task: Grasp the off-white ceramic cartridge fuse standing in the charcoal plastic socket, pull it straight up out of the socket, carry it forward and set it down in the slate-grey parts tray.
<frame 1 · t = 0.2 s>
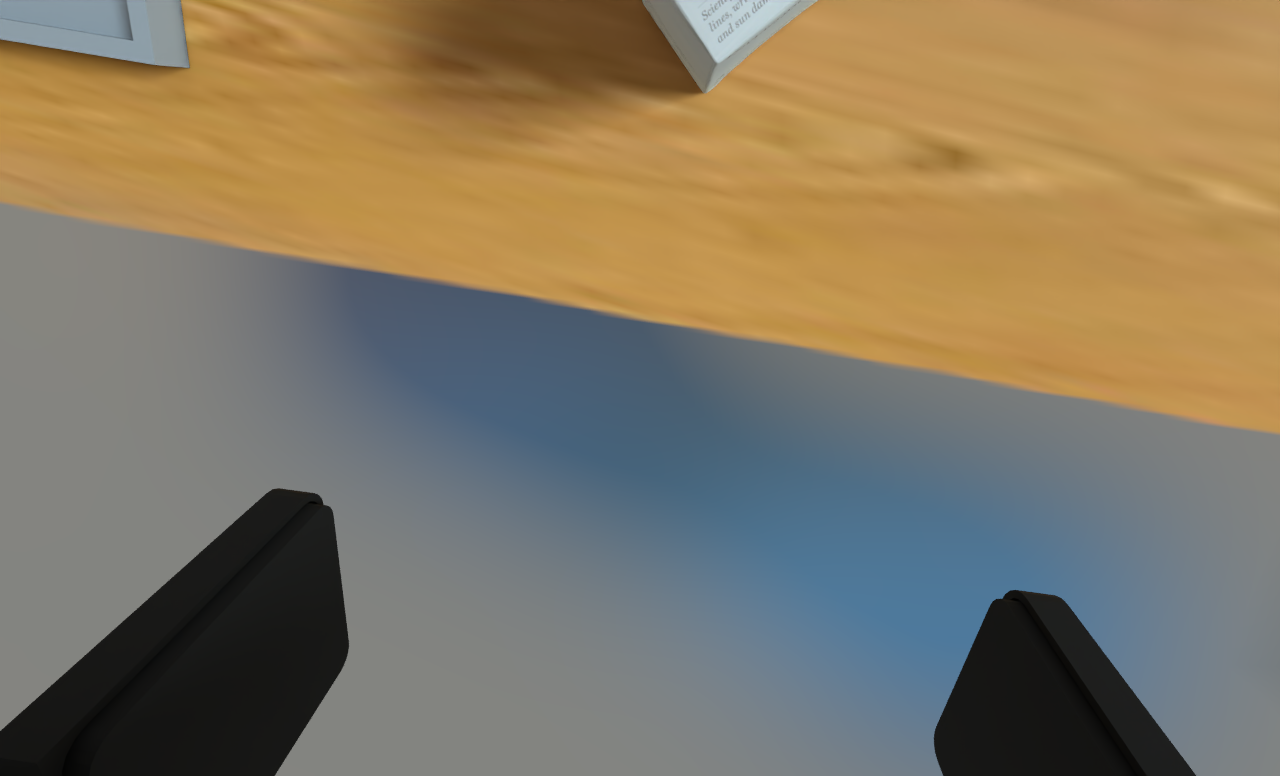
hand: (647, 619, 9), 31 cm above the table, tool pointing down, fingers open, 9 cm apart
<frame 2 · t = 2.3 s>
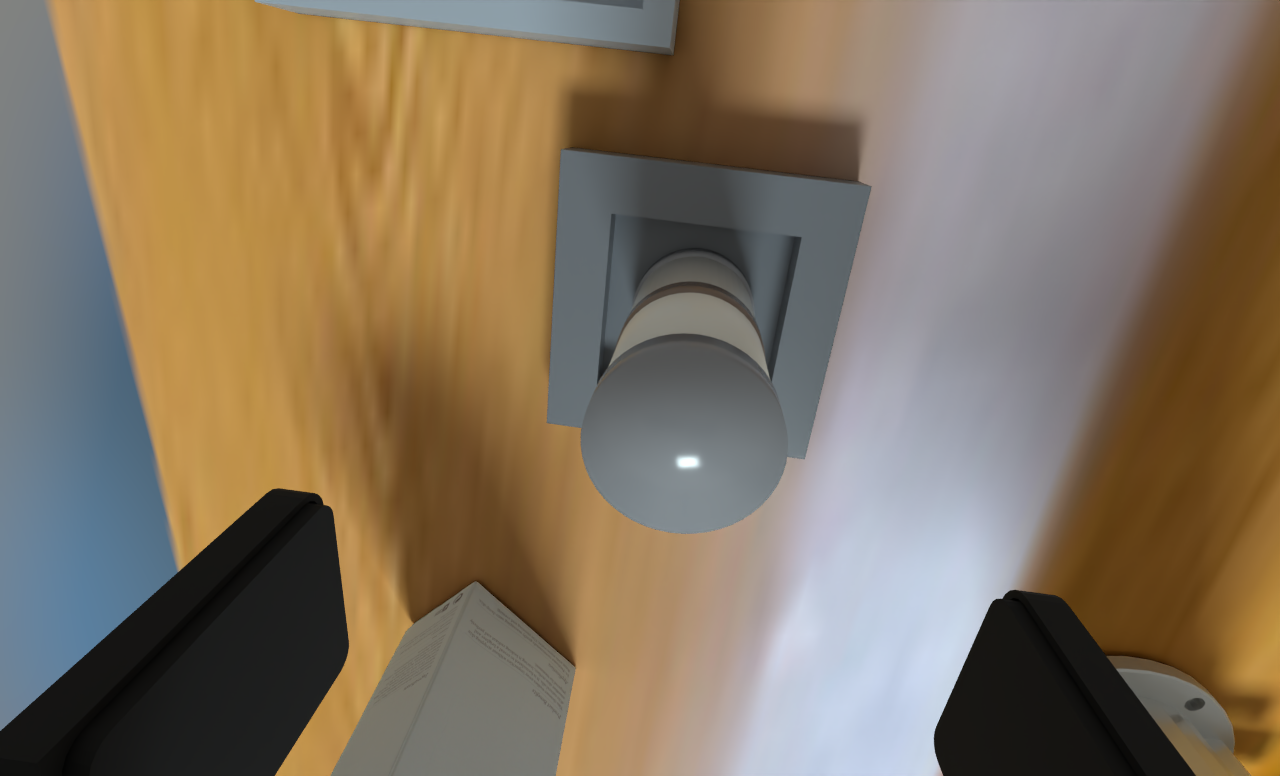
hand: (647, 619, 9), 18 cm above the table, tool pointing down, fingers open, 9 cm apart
fuse: (693, 307, 25), point 1 cm above the table, touching socket
skincare box: (499, 643, 35), on the table
socket: (693, 303, 26), on the table
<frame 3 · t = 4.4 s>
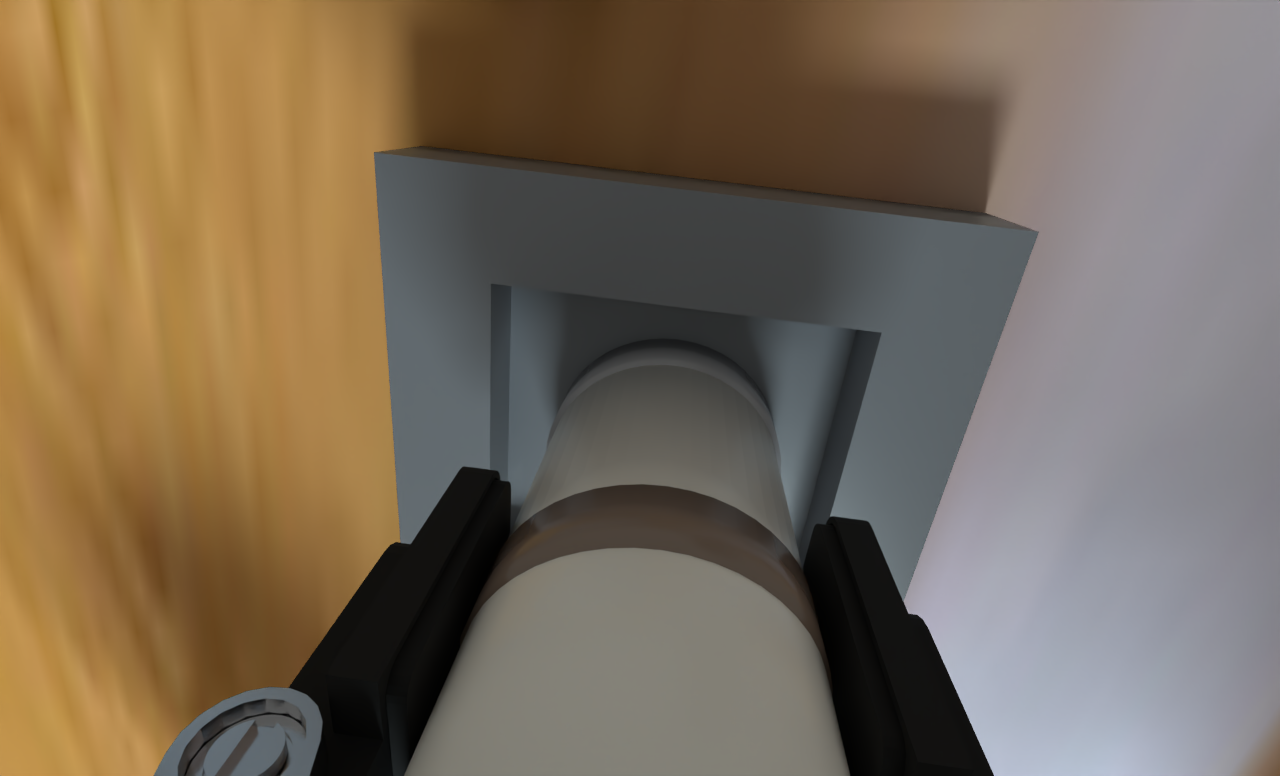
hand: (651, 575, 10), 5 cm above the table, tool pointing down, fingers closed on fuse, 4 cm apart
fuse: (664, 440, 14), point 1 cm above the table, touching gripper, socket
socket: (665, 428, 14), on the table
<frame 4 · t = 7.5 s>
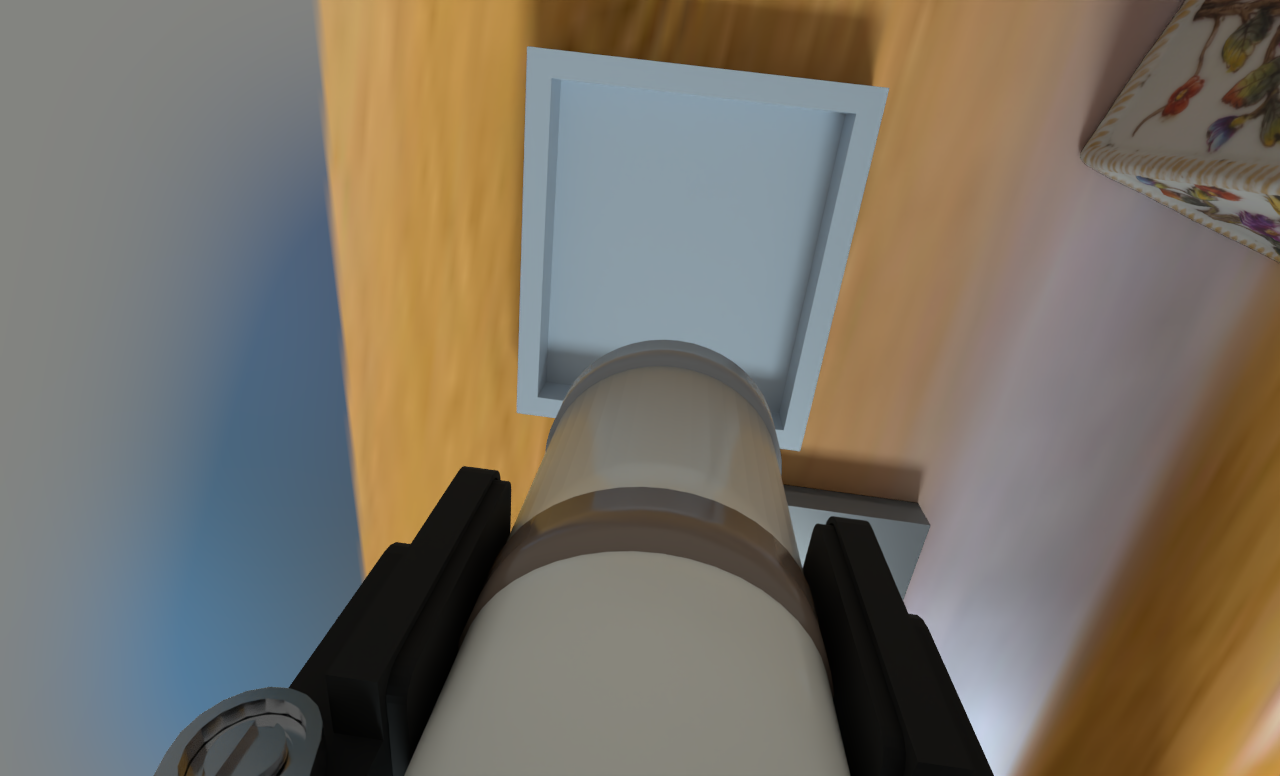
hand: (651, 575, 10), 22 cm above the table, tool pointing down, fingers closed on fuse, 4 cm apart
fuse: (664, 442, 14), point 17 cm above the table, touching gripper
tray: (680, 259, 29), on the table
socket: (795, 568, 36), on the table
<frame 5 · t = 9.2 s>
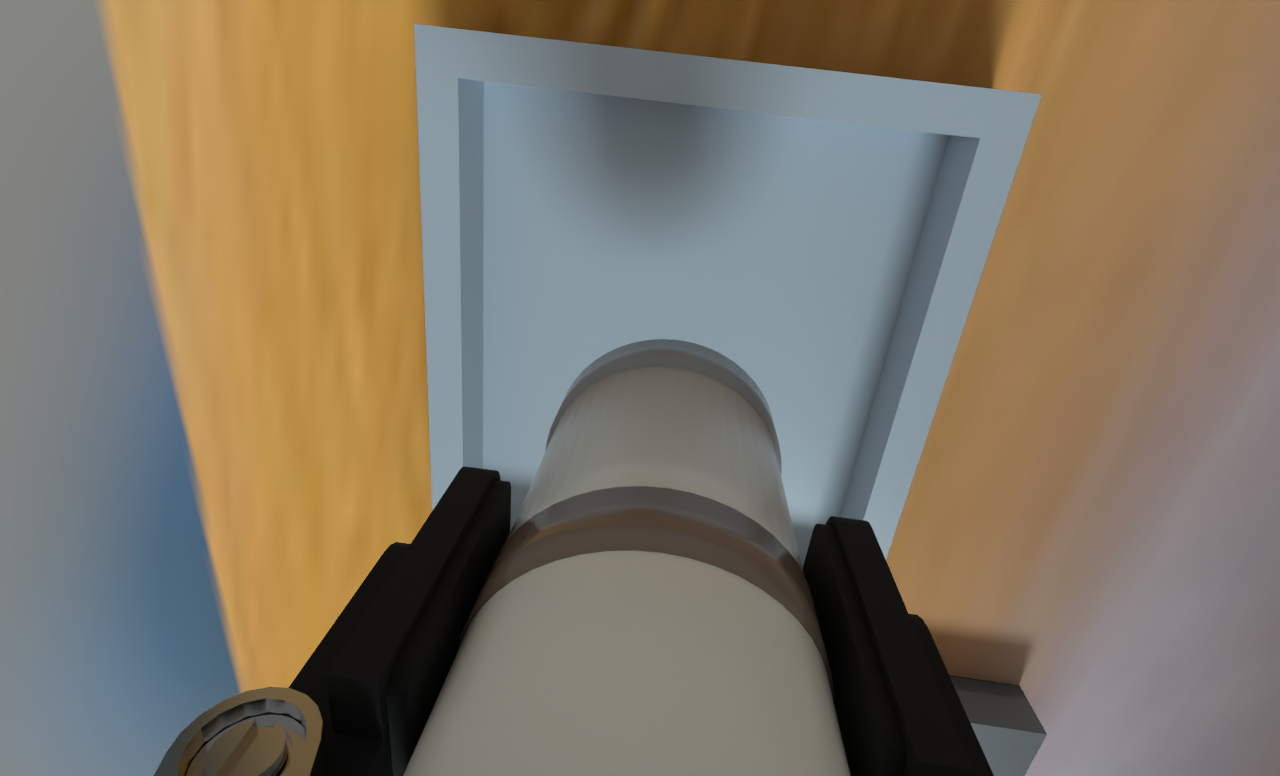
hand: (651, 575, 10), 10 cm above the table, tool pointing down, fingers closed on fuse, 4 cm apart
fuse: (664, 441, 14), point 6 cm above the table, touching gripper
tray: (678, 353, 19), on the table
socket: (839, 760, 26), on the table
when the fingers open (6 cm above the table, at t = 10.7 s): fuse stays where it is, resting on tray.
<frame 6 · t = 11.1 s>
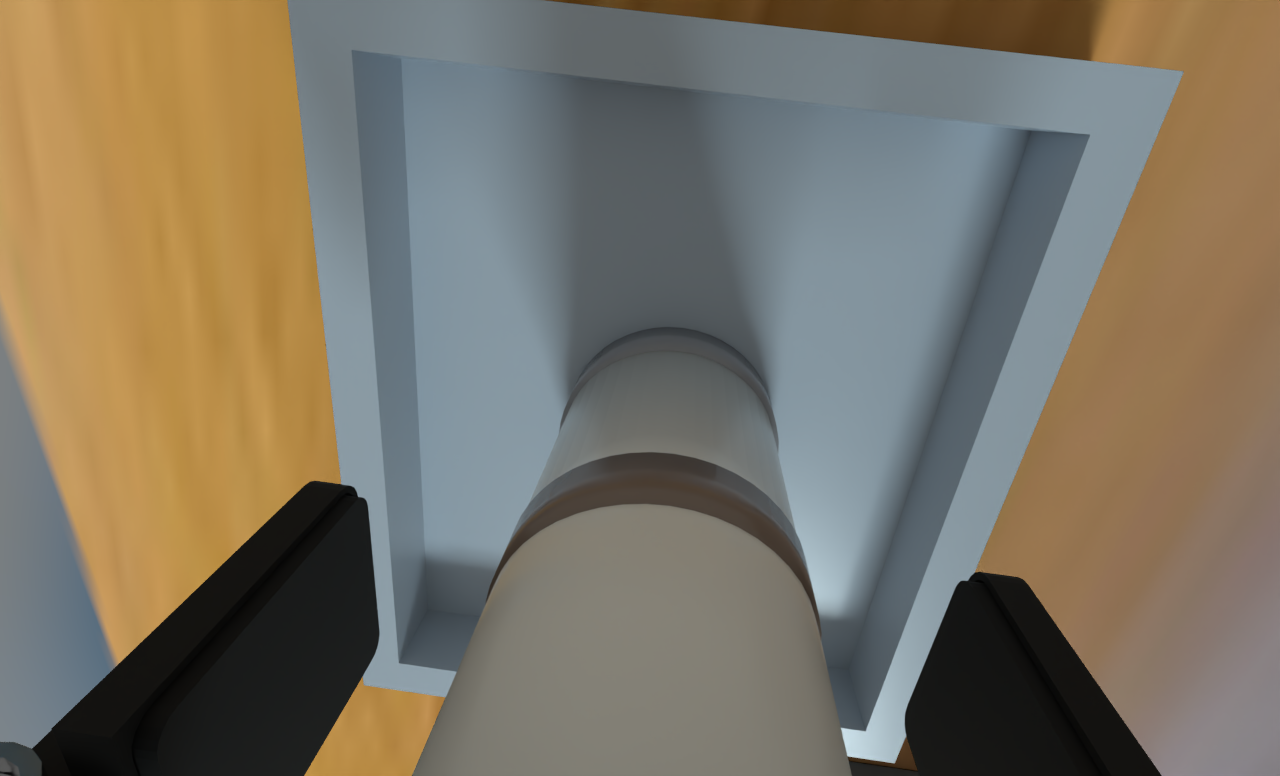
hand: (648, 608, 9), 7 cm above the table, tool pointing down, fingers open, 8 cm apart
fuse: (669, 423, 15), point 1 cm above the table, touching tray
tray: (667, 409, 15), on the table
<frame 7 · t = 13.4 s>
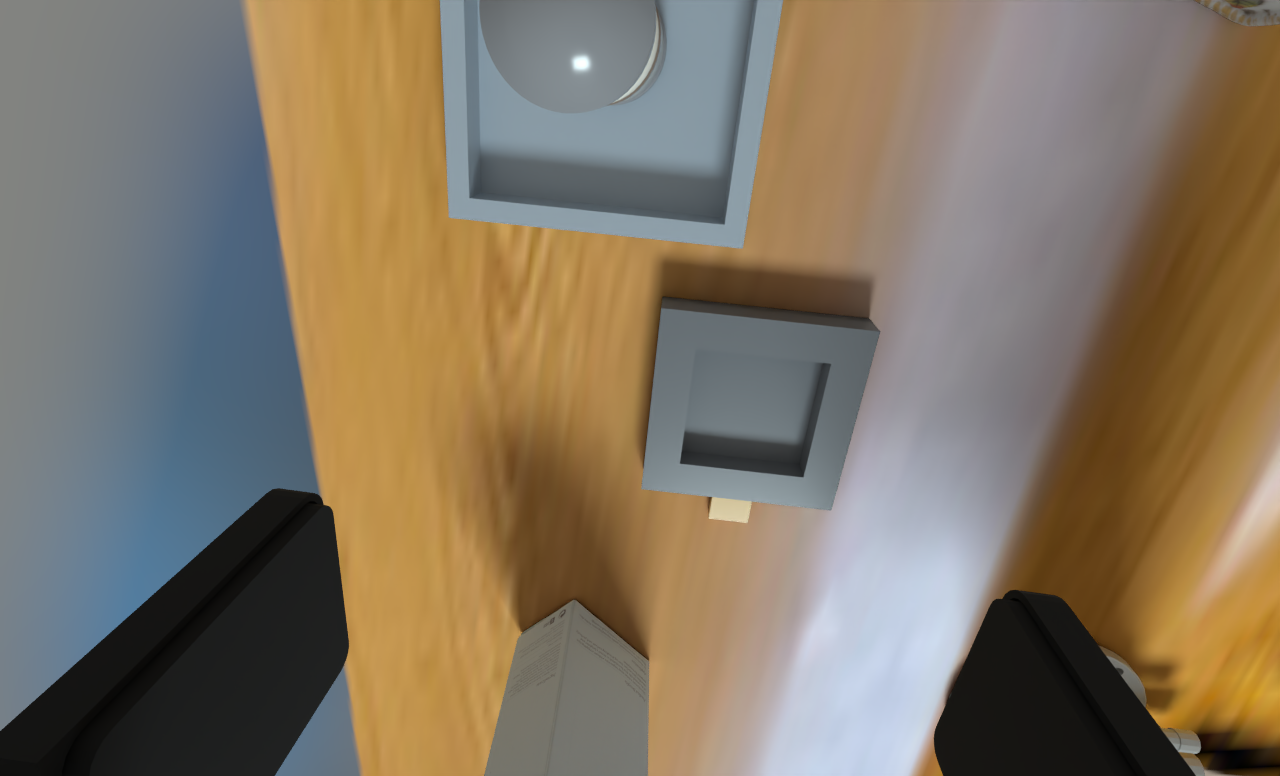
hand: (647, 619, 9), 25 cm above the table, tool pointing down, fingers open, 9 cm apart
fuse: (613, 45, 28), point 1 cm above the table, touching tray
tray: (612, 44, 28), on the table
skincare box: (589, 645, 45), on the table
socket: (748, 399, 35), on the table
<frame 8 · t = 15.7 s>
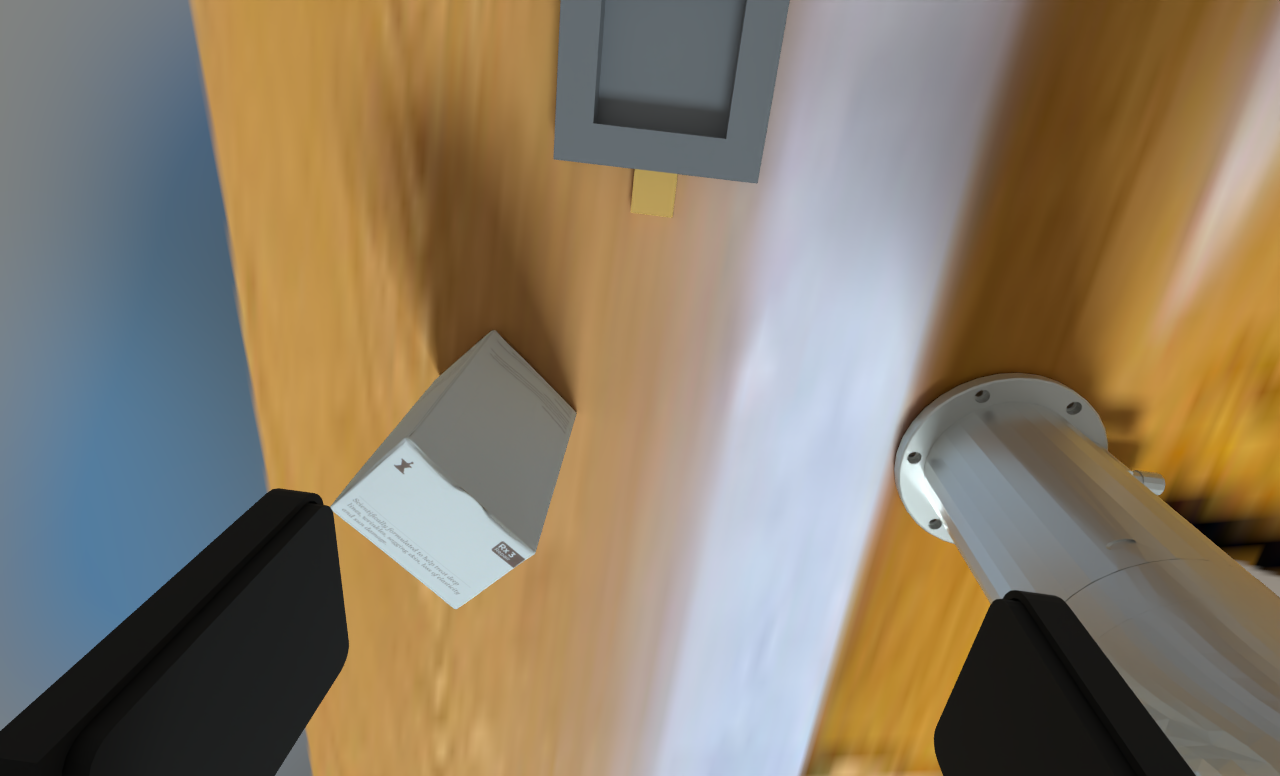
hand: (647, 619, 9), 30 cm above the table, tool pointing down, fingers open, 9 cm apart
skincare box: (513, 394, 42), on the table
socket: (669, 58, 33), on the table
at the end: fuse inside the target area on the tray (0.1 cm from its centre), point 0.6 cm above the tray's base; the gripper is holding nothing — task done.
